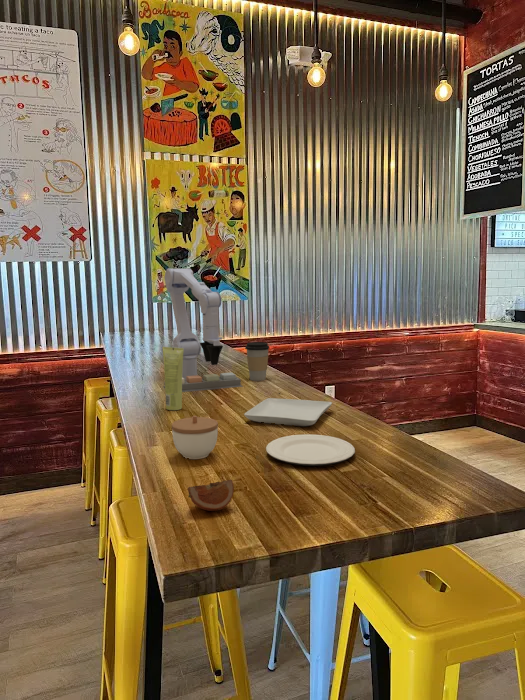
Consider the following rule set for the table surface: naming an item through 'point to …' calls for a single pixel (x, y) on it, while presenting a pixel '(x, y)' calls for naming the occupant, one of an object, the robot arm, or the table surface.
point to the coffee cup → (257, 360)
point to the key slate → (227, 376)
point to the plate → (310, 450)
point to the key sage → (210, 377)
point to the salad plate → (288, 411)
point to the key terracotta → (193, 379)
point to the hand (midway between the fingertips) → (211, 363)
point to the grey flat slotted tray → (210, 385)
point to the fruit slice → (212, 495)
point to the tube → (173, 377)
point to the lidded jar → (195, 436)
